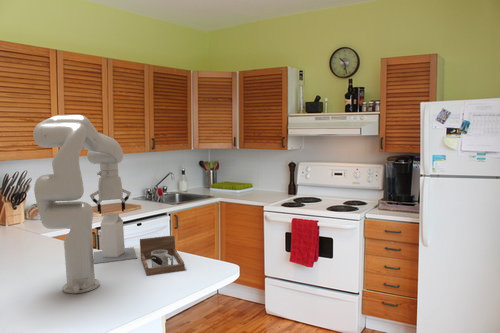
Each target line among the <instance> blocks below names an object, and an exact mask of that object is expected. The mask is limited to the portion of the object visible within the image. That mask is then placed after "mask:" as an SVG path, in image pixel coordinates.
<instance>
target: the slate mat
mask: <svg viewBox="0 0 500 333" xmlns="http://www.w3.org/2000/svg"><path fill="white" fill-rule="evenodd" d="M93 259H94V265H97V264H105V263H113V262H121V261H127V260H128V261H129V260H130V261H131V260H136V259H138V257H137V253H136V251H135V248H134V246H133V247H125V253H123V254H122V255H120V256H118V257H103V252H102V250H100V251H99V250H98V251H93Z"/></svg>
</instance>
